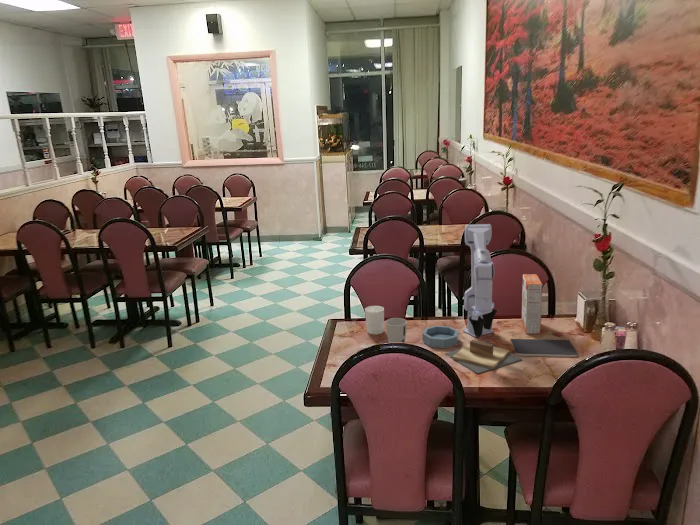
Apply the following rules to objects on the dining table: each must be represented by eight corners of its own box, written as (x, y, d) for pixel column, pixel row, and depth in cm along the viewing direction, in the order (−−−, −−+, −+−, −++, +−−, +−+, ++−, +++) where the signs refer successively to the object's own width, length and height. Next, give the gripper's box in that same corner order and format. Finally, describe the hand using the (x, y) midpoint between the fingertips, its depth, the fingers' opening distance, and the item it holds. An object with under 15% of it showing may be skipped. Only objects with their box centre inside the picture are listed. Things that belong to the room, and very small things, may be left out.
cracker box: (520, 321, 213) (522, 273, 207) (535, 321, 212) (537, 273, 206) (524, 334, 200) (526, 283, 194) (540, 334, 198) (543, 284, 193)
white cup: (388, 329, 211) (387, 307, 208) (378, 336, 204) (378, 313, 202) (371, 326, 215) (371, 304, 212) (362, 333, 209) (361, 310, 206)
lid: (471, 343, 192) (471, 331, 191) (509, 353, 183) (509, 340, 182) (452, 358, 181) (452, 345, 180) (492, 369, 172) (493, 355, 171)
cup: (406, 350, 190) (405, 326, 188) (384, 350, 192) (384, 325, 189) (408, 342, 198) (407, 318, 195) (387, 341, 200) (386, 317, 197)
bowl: (444, 331, 206) (444, 323, 205) (464, 342, 195) (464, 334, 194) (417, 338, 201) (416, 330, 200) (436, 350, 189) (436, 341, 188)
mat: (487, 342, 194) (487, 341, 194) (522, 360, 178) (522, 359, 178) (445, 354, 185) (445, 353, 185) (477, 374, 170) (477, 373, 170)
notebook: (568, 343, 191) (510, 342, 194) (569, 339, 190) (510, 338, 194) (578, 358, 178) (515, 356, 182) (578, 354, 178) (515, 352, 182)
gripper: (481, 289, 184) (480, 323, 188) (463, 300, 173) (463, 337, 177) (500, 292, 180) (499, 327, 184) (482, 304, 169) (482, 341, 173)
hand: (482, 332), depth 180 cm, fingers open, 7 cm apart
